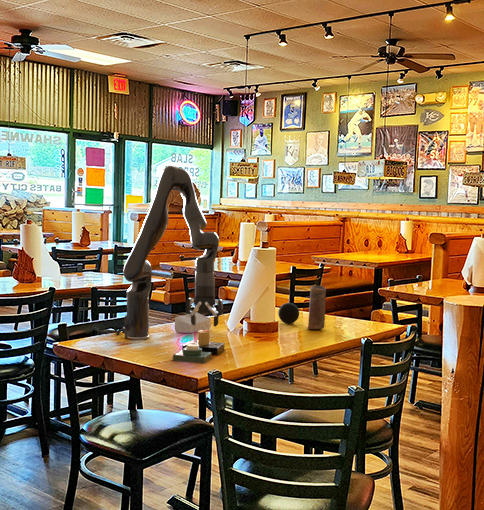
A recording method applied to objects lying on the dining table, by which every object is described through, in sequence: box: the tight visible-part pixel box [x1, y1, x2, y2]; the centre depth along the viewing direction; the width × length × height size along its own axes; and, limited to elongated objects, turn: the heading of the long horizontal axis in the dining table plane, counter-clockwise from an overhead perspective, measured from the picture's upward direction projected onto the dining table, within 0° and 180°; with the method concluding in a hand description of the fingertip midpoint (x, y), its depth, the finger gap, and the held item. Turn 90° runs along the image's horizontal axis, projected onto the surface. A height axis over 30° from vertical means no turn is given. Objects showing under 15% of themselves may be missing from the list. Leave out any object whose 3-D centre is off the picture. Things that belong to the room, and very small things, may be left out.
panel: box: [181, 340, 226, 357], centre depth 269 cm, size 14×10×3 cm
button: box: [187, 344, 198, 350], centre depth 256 cm, size 4×4×2 cm
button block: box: [172, 347, 213, 364], centre depth 256 cm, size 12×9×4 cm
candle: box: [307, 285, 327, 331], centre depth 320 cm, size 8×7×20 cm
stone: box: [174, 311, 212, 334], centre depth 312 cm, size 11×17×10 cm, turn 137°
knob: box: [197, 330, 211, 345], centre depth 269 cm, size 4×4×5 cm
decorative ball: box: [277, 302, 300, 325], centre depth 335 cm, size 10×10×10 cm
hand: (204, 325), depth 269 cm, fingers open, 8 cm apart
